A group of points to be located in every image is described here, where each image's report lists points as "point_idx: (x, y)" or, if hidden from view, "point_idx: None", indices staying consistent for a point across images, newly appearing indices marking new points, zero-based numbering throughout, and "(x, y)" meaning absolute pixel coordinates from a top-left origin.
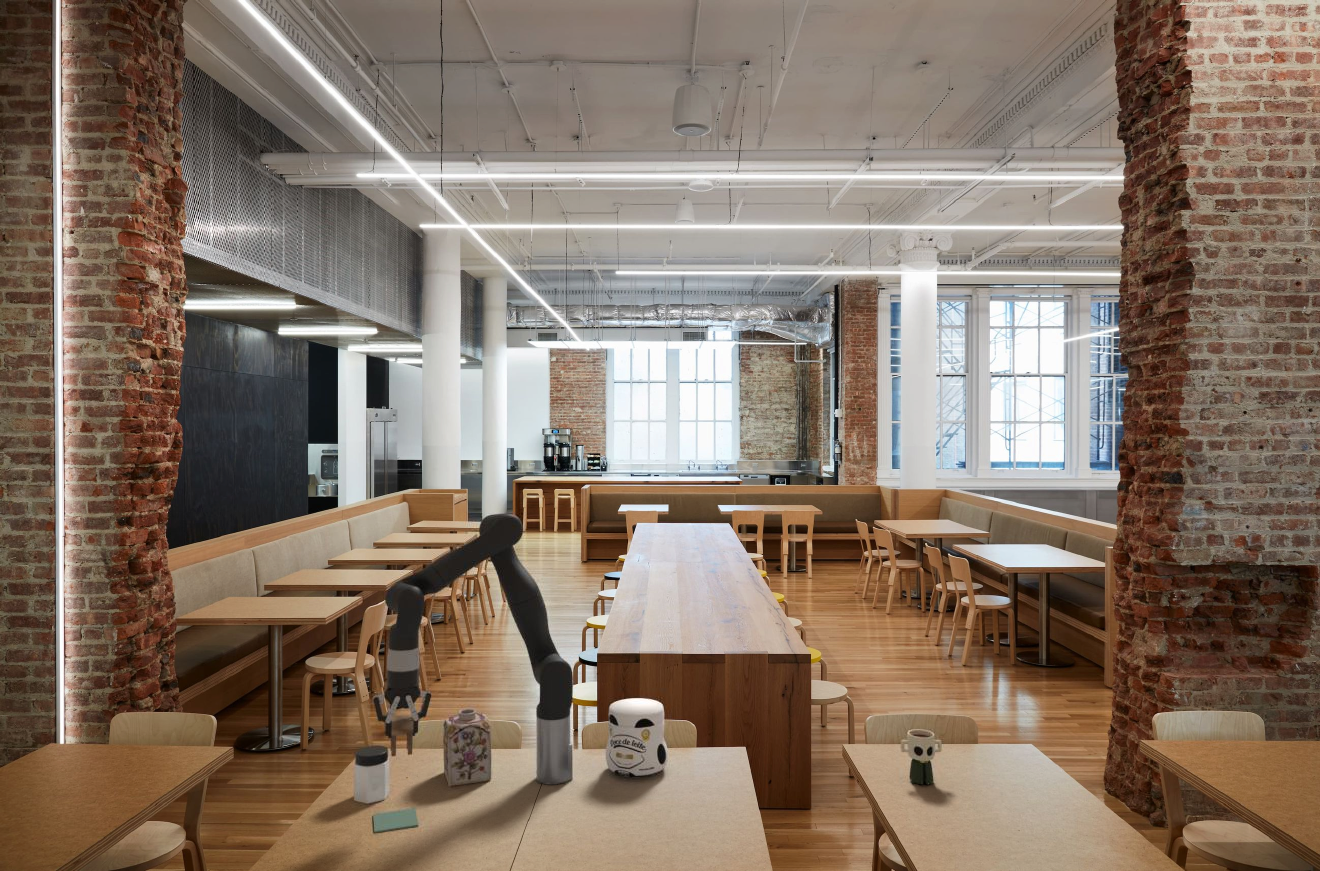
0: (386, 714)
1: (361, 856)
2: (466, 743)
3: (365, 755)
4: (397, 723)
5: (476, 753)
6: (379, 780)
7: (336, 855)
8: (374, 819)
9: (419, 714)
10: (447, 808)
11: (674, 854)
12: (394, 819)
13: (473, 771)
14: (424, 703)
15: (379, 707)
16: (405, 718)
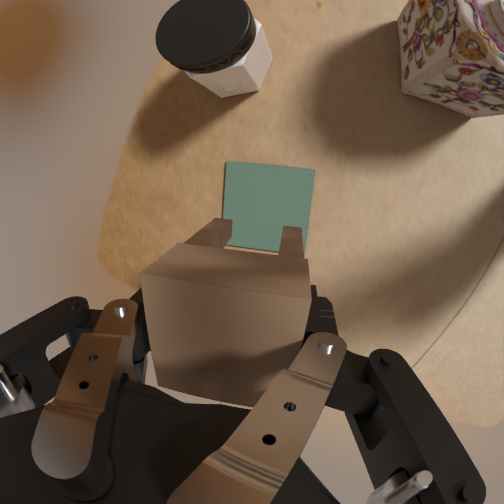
0: (100, 324)
1: None
2: (482, 86)
3: (176, 56)
4: (190, 389)
5: (484, 99)
6: (236, 82)
7: None
8: (226, 189)
9: (338, 405)
10: (376, 200)
11: (477, 415)
12: (264, 208)
13: (457, 102)
14: (374, 481)
15: (43, 397)
16: (244, 352)
